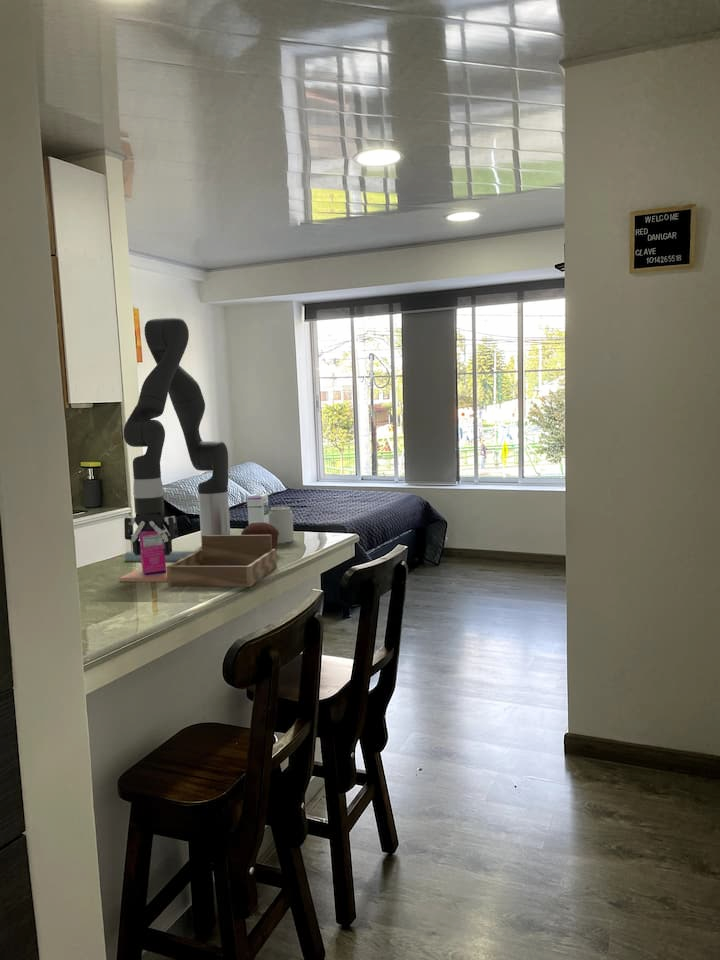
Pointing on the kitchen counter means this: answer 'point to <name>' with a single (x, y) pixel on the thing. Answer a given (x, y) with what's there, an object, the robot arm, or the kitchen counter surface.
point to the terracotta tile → (144, 577)
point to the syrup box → (258, 508)
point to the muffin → (262, 531)
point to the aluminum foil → (172, 557)
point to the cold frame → (225, 562)
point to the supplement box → (152, 553)
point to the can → (282, 523)
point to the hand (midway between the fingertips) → (152, 555)
